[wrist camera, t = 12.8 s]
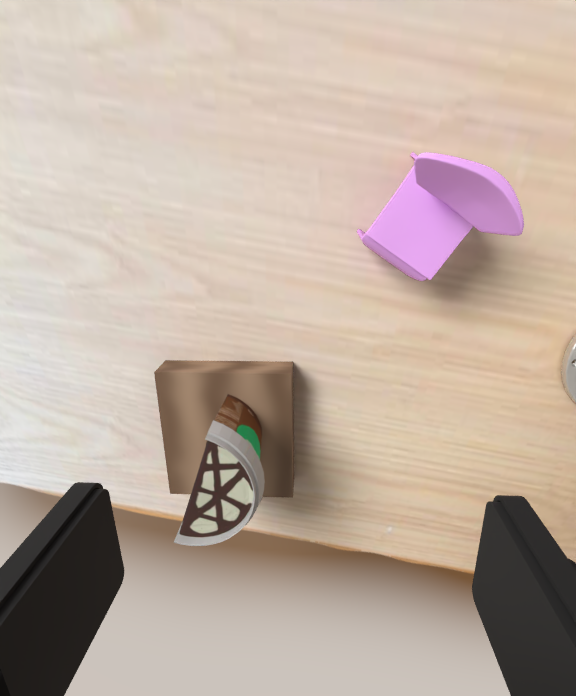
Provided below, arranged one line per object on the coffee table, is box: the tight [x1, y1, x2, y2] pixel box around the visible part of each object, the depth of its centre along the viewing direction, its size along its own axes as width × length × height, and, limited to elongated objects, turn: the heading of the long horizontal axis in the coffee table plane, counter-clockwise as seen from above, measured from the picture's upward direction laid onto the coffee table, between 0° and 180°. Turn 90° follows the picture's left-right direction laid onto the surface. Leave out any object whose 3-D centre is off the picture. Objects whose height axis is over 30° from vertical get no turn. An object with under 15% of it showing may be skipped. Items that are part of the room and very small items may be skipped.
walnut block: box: [154, 360, 294, 497], centre depth 46 cm, size 14×15×4 cm
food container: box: [174, 394, 265, 546], centre depth 39 cm, size 12×6×10 cm, turn 162°
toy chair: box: [357, 152, 524, 281], centre depth 31 cm, size 8×9×15 cm
